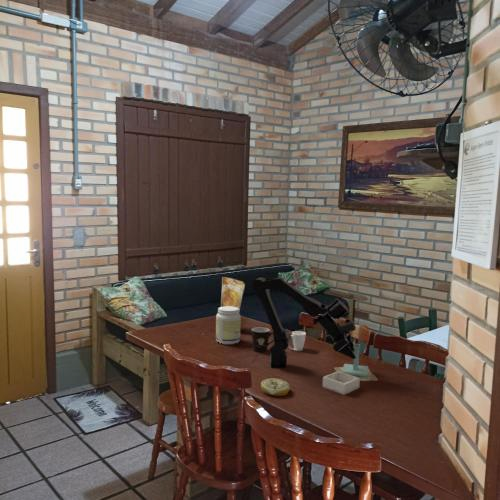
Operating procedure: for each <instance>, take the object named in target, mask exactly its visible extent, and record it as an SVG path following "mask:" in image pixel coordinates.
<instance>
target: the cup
mask: <svg viewBox="0 0 500 500" xmlns="http://www.w3.org/2000/svg"><path fill="white" fill-rule="evenodd" d="M290 336H291V338H292V344H293V348H292V347H290V345H289V346H288V347H287V348H288V349H291V350H293V351H298V352H302V351H303V348H304V345H305V342H306V337H307V333H306V332H305V331H301V330H295V331H292V332H291V334H290Z"/></svg>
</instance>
